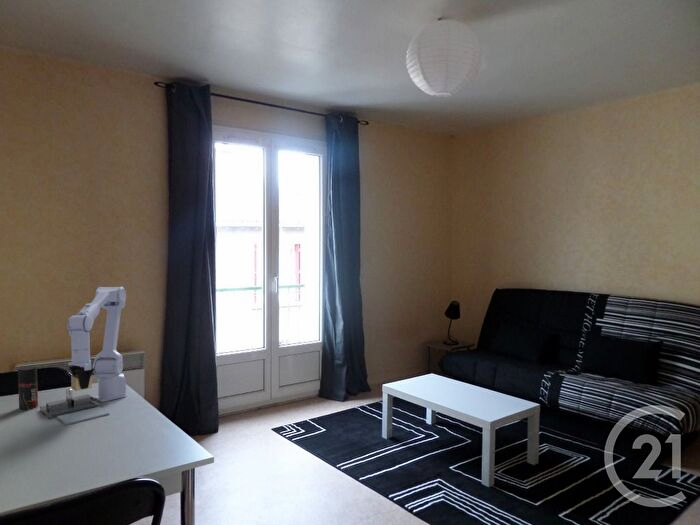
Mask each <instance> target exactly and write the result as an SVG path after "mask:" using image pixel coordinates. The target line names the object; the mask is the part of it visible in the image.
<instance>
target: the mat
mask: <svg viewBox="0 0 700 525" xmlns="http://www.w3.org/2000/svg"><path fill="white" fill-rule="evenodd" d="M106 416H110V412H109V411H107V410H106V409H104V408H102V407H101V406H98V407H95V408H91V409H87V410H82V411H78V412H74V413H70V414H65V415H61V416H57V417H56V418H57V419H58V420H59V421H60V422H61V423H63V425H65V426H69V425H73V424H77V423H80V422H81V423H82V422H85V421H91V420H93V419H97V418H102V417H106Z"/></svg>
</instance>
